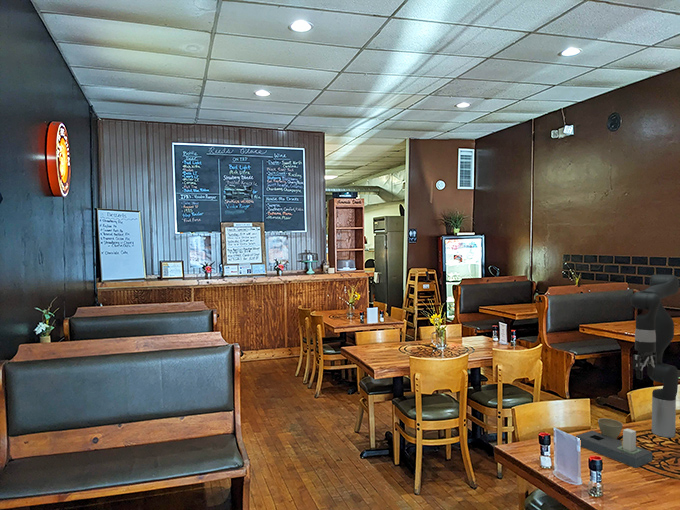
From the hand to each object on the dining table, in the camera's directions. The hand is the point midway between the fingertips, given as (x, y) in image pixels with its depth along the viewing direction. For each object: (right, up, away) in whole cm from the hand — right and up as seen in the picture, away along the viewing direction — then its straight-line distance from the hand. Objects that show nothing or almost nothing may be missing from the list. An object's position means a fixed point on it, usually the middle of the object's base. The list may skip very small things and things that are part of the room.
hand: (644, 377), depth 204 cm
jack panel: (-13, -33, +2) cm, 35 cm away
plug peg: (-10, -33, -5) cm, 35 cm away
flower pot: (-5, -33, +18) cm, 37 cm away
